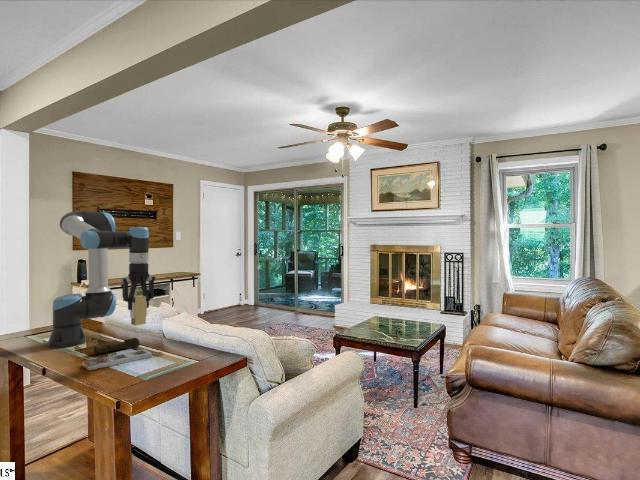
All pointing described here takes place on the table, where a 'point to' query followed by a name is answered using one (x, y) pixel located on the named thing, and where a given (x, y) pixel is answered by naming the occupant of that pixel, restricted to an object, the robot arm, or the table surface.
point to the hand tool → (117, 346)
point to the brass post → (139, 310)
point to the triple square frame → (116, 359)
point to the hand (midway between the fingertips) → (138, 316)
